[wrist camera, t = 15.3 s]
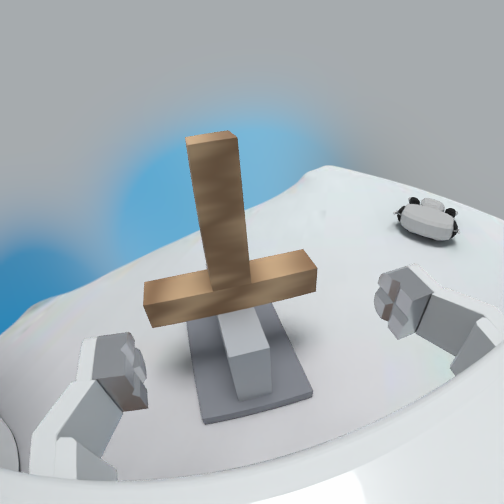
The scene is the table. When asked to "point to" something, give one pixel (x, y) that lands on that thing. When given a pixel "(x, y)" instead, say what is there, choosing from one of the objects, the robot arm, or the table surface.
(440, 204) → the robot toy
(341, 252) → the table surface
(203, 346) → the ridge stand
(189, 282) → the wooden t-shaped block
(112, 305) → the table surface
